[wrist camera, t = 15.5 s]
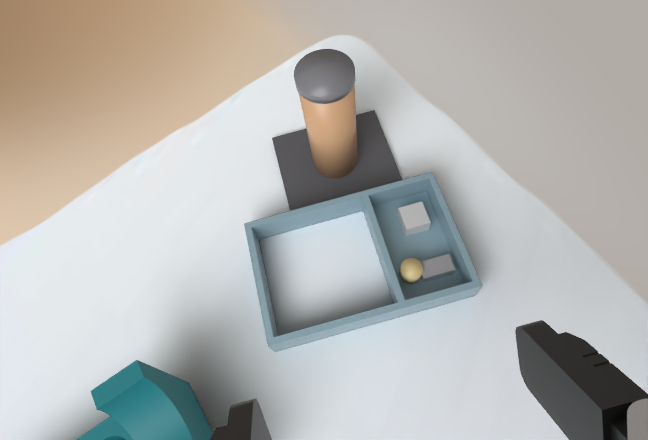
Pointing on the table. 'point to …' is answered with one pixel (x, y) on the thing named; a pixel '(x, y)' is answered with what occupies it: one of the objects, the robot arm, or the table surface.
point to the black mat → (315, 188)
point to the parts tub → (381, 253)
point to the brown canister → (329, 110)
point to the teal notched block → (147, 407)
